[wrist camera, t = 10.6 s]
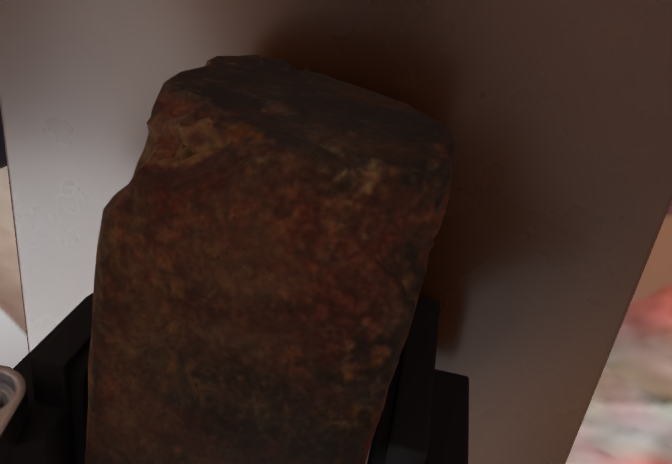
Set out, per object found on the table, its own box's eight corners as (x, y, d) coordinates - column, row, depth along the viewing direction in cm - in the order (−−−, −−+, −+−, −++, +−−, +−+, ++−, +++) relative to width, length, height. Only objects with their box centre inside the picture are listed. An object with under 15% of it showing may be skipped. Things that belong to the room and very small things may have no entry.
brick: (327, 526, 15) (275, 753, 11) (170, 477, 15) (61, 681, 11) (465, 99, 10) (464, 218, 6) (232, 36, 11) (79, 111, 6)
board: (82, 548, 20) (55, 592, 19) (7, -387, 10) (-64, -434, 9) (467, 652, 19) (467, 708, 17) (831, -305, 9) (896, -346, 7)
